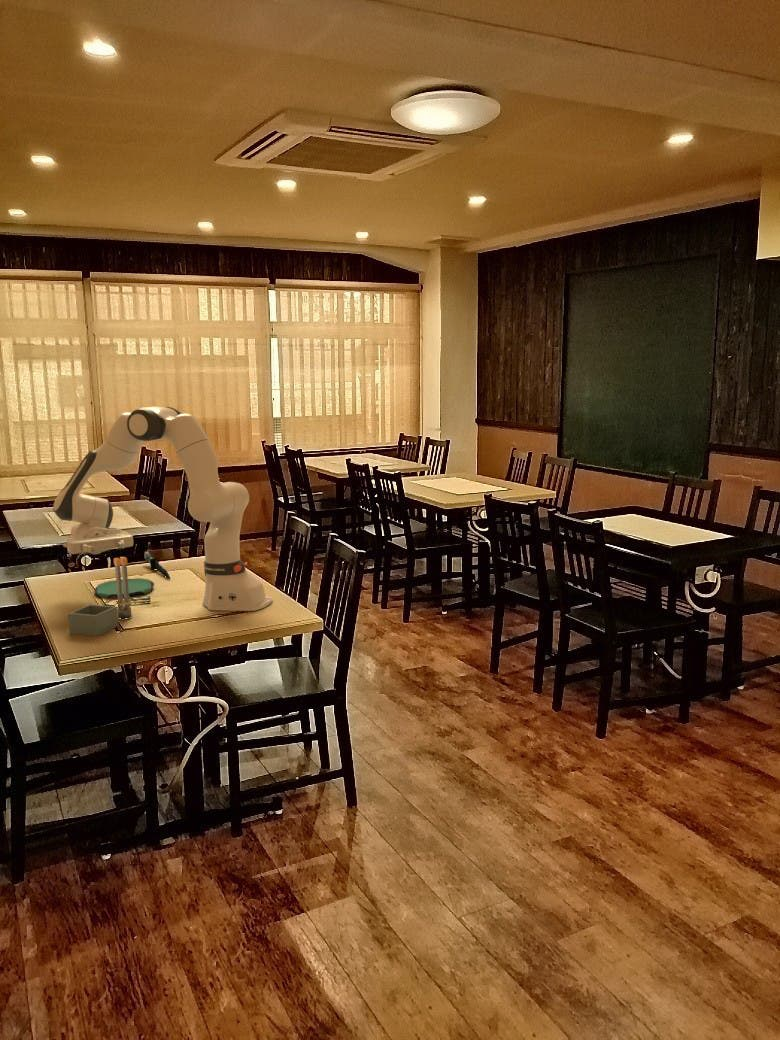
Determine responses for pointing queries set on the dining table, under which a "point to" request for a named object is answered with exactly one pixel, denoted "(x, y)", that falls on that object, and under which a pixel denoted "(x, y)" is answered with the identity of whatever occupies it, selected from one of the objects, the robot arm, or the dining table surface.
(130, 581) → the green cutting board
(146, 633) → the dining table surface
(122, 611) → the tongs
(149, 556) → the knife
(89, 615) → the open box
